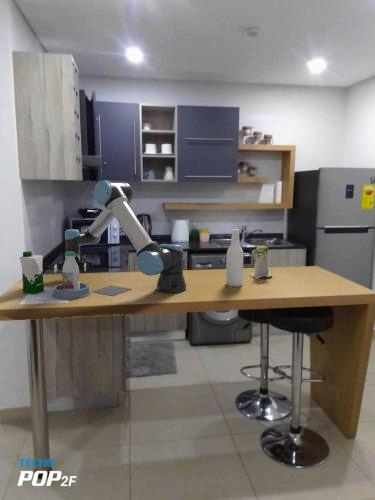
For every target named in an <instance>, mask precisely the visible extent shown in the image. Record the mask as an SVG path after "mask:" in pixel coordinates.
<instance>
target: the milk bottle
mask: <svg viewBox="0 0 375 500" xmlns="http://www.w3.org/2000/svg"><path fill="white" fill-rule="evenodd" d="M64 257H65V258H66V259H65V258H64V261H65V263H64V265H63V268H61V269H62V284H63V291H70V290H79V289H80V282H81V281H80V279H81V278H80V269H79V268H80V267H78V264H77V263H76V260H75V252H73V251H68V252H66V251H65V252H64Z"/></svg>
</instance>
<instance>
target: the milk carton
mask: <svg viewBox="0 0 375 500" xmlns="http://www.w3.org/2000/svg"><path fill="white" fill-rule="evenodd" d="M43 259H44V255H41V254H33V252H32V251H23V252H22V256H20V257H19V261H20V264H21V273H22V294H24V295H25V294H27V295H38V294H39V293H42V292H44V291H45V286H44V284H45V283H44V274H43V273H44V269H43Z"/></svg>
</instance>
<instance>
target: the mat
mask: <svg viewBox="0 0 375 500" xmlns="http://www.w3.org/2000/svg"><path fill="white" fill-rule="evenodd" d="M130 290H132V288H129V287H122V286H117V285H108V286H104V287H102V288H98V289H95V290H92V291H91V293H95V294H101V295H104V296H105V295H106V296H110V297H114V296H117V295H120V294H123V293H127V292H128V291H130Z"/></svg>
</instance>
